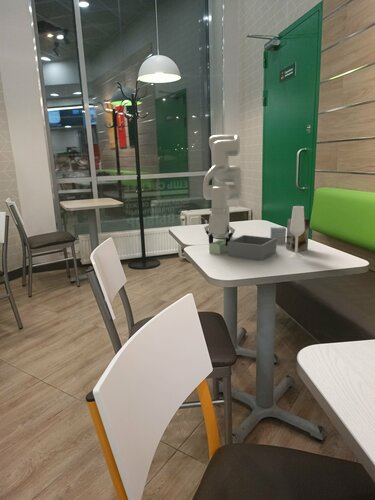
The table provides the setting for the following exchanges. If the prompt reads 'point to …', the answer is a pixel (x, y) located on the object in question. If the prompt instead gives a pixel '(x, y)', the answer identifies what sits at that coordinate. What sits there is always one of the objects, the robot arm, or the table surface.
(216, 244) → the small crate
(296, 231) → the champagne flute
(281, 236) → the medicine box
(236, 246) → the box
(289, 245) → the coffee box
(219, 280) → the table surface
